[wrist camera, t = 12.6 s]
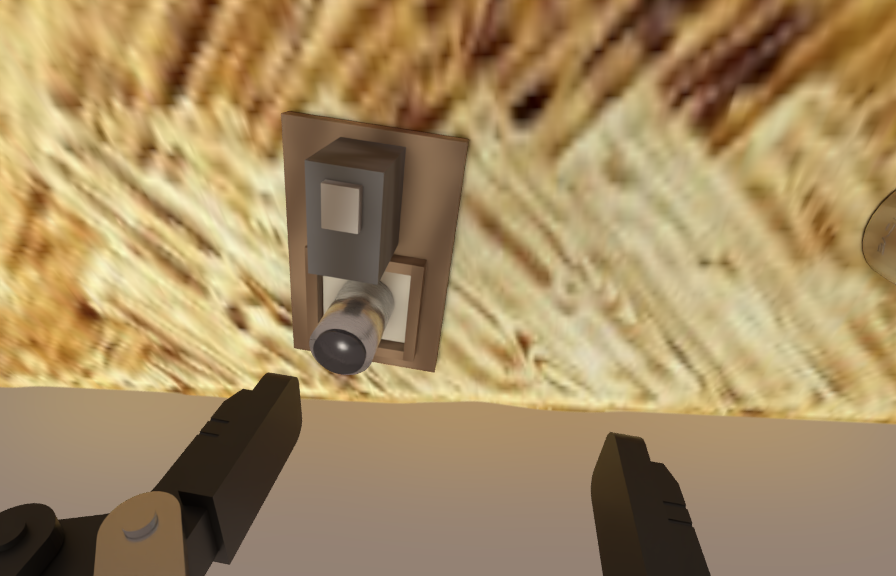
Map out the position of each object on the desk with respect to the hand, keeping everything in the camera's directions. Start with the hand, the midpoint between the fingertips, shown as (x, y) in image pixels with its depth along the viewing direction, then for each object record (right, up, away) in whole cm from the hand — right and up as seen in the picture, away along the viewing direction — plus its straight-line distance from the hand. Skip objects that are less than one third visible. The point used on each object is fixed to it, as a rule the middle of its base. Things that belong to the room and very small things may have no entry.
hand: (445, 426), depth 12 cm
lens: (-7, +2, +29) cm, 30 cm away
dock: (-7, +6, +28) cm, 30 cm away
